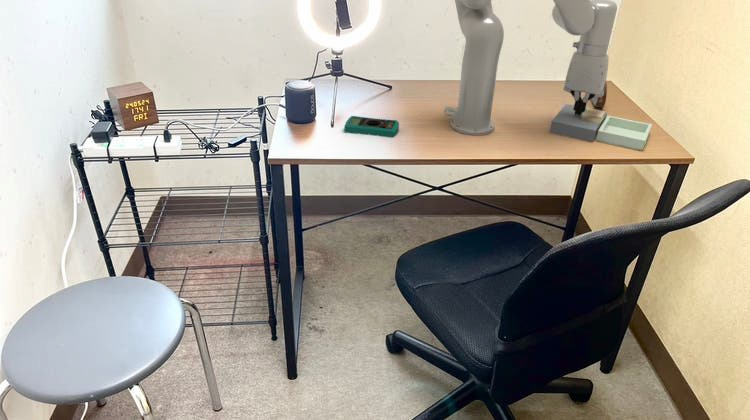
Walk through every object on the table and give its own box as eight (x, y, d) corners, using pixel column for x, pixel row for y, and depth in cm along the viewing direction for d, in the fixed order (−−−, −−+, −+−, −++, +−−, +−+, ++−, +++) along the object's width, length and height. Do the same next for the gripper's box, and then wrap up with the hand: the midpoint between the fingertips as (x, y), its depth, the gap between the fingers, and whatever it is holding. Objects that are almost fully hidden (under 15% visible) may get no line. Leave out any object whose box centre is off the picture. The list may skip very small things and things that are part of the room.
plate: (549, 132, 157) (551, 121, 155) (563, 114, 168) (566, 103, 166) (592, 142, 151) (595, 130, 150) (604, 123, 163) (607, 111, 161)
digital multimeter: (395, 139, 152) (396, 129, 151) (343, 133, 155) (343, 124, 153) (400, 129, 158) (400, 119, 157) (349, 123, 161) (349, 114, 159)
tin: (603, 111, 171) (610, 85, 167) (593, 111, 172) (599, 84, 167) (597, 95, 184) (603, 70, 179) (587, 94, 184) (593, 69, 180)
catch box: (595, 140, 152) (598, 130, 151) (605, 125, 162) (607, 115, 160) (642, 151, 147) (645, 140, 146) (649, 134, 157) (652, 124, 155)
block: (581, 120, 156) (582, 113, 155) (585, 114, 159) (587, 107, 158) (599, 124, 154) (601, 117, 152) (603, 118, 157) (605, 111, 156)
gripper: (561, 48, 149) (548, 112, 158) (619, 57, 142) (602, 123, 152) (567, 41, 154) (555, 104, 164) (624, 50, 148) (608, 114, 158)
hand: (578, 113), depth 158 cm, fingers closed
